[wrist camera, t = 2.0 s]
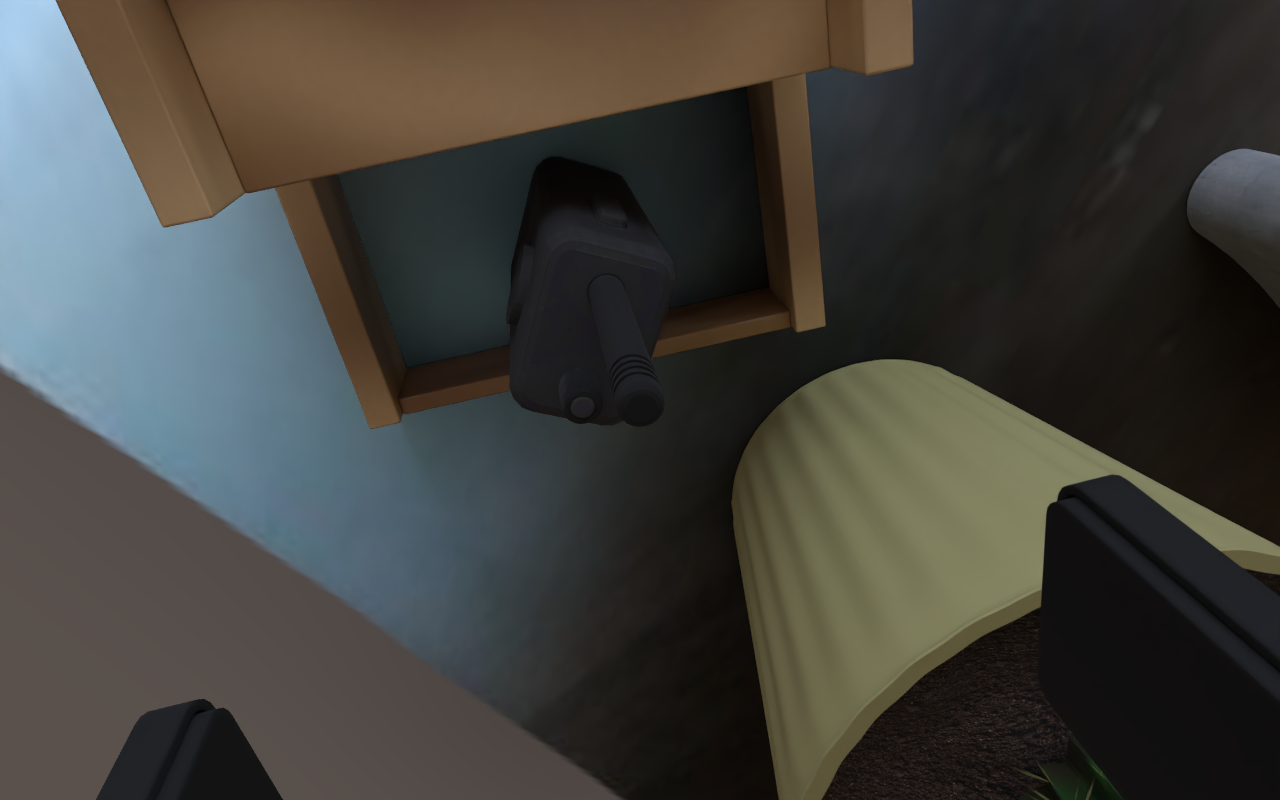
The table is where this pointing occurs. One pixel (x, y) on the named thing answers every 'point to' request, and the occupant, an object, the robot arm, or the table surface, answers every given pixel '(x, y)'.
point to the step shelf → (462, 126)
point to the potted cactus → (918, 587)
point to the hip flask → (1242, 212)
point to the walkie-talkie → (587, 299)
